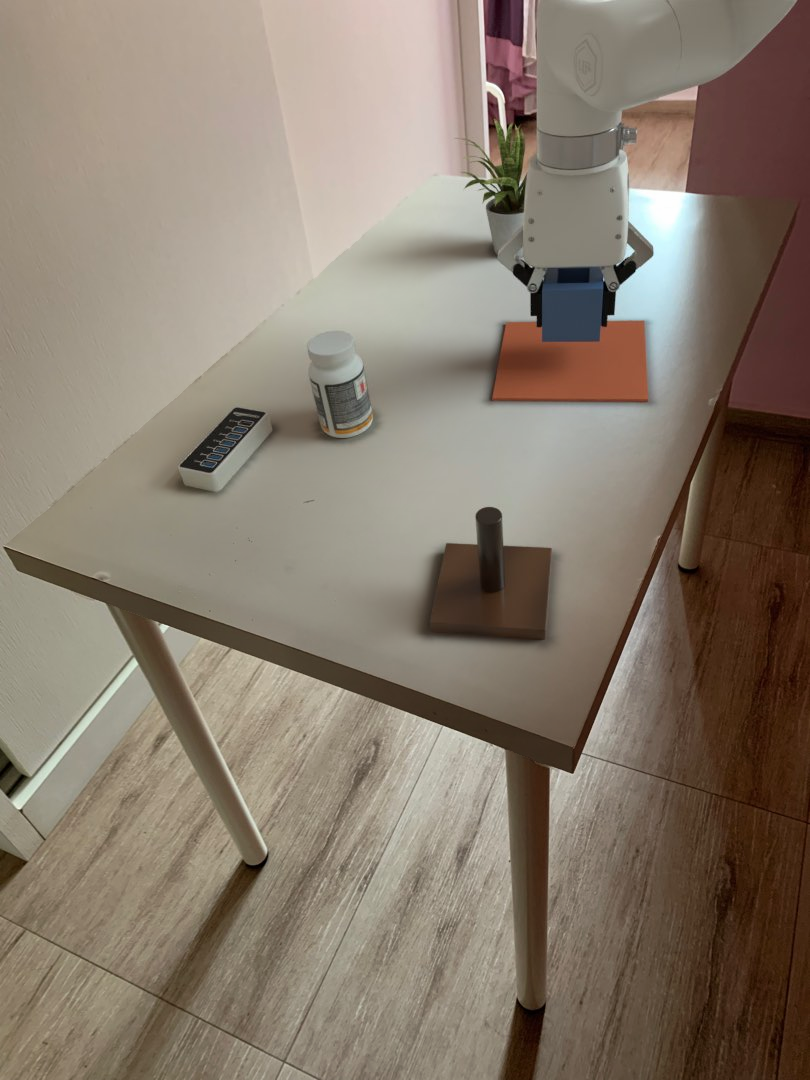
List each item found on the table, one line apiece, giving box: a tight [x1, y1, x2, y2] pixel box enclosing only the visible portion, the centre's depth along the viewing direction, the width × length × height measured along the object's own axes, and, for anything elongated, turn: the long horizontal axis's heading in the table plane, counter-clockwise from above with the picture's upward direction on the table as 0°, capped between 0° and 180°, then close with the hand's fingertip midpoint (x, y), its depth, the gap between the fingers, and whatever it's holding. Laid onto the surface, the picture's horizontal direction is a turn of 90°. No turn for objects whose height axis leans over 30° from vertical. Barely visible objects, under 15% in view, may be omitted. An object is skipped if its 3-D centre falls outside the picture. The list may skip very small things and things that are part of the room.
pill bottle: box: [306, 330, 374, 439], centre depth 83 cm, size 6×6×10 cm
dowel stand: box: [429, 506, 553, 640], centre depth 63 cm, size 9×9×9 cm
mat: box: [491, 320, 649, 403], centre depth 90 cm, size 16×16×1 cm
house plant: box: [455, 118, 527, 258], centre depth 107 cm, size 14×14×16 cm
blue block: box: [542, 267, 604, 342], centre depth 85 cm, size 6×6×6 cm
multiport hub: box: [177, 406, 273, 493], centre depth 84 cm, size 4×11×2 cm, turn 156°
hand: (571, 319), depth 87 cm, fingers closed on blue block, 6 cm apart
